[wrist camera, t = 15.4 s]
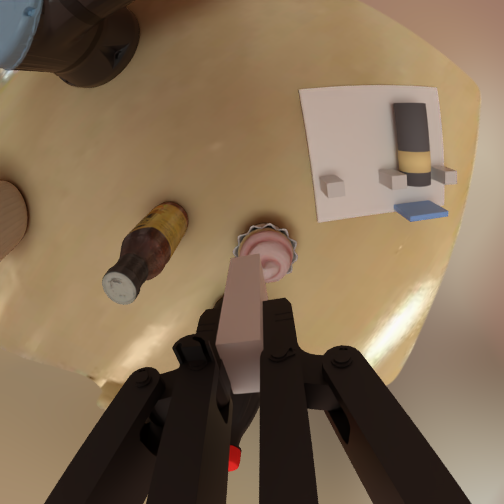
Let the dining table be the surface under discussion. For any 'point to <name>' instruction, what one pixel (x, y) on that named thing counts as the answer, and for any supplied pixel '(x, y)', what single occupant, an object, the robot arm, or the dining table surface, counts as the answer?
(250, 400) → the cola bottle
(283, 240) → the cupcake
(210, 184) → the dining table surface
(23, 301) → the dining table surface
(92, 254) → the dining table surface
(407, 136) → the banded cylinder post
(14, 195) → the canister
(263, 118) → the dining table surface
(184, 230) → the sauce bottle
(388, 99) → the white base plate
